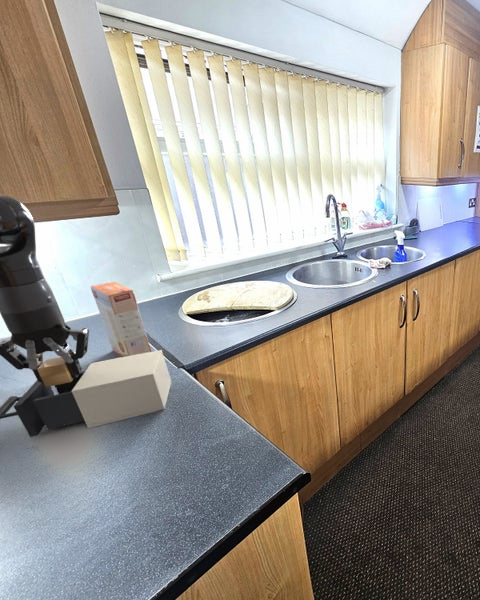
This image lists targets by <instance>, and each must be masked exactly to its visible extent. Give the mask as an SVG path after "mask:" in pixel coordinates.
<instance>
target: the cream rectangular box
mask: <svg viewBox="0 0 480 600" xmlns="http://www.w3.org/2000/svg"><path fill="white" fill-rule="evenodd" d="M84 371H85V373H84V374H83V376H82V377H81V378H80V380H79V381H78V383H77V384H76V385H75V387H74V388H73V390H72V393H73V395H74V398H75V400H76V402H77V404H78V407H79V409H80V411H81V413H82V416H83V418H84V420H85V421H84V422H85V424H86V427H87V429H91V428H95V427H99V426H103V425H108V424H111V423H114V422H119V421H124V420H127V419H131V418H135V417H140V416H143V415H147V414H151V413H155V412H160V411H162V410H165V409H166V405H167V401H168V397H169V393H170V389H171V386H172V379H171V375H170V371H169V369H168V366H167V362H166V360H165V356H164V353H163V350H162V349H159V350H153V351H151V352H147V353H142V354H137V355H131V356H126V357H121V356H120V357H117V358H111V359H105V360H100V361H95V362H91V363H90V364H89V366H88V367H87V368H86V370H84Z"/></svg>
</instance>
